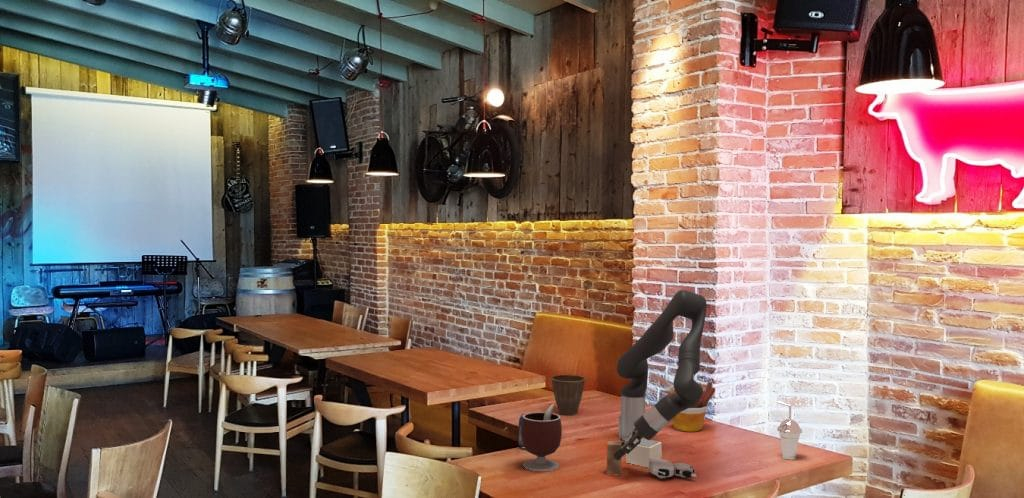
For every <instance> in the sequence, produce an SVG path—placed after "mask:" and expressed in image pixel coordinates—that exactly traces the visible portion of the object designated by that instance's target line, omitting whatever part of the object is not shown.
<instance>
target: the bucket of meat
mask: <svg viewBox="0 0 1024 498" xmlns="http://www.w3.org/2000/svg"><path fill="white" fill-rule="evenodd" d="M715 392H716V389H715V387H713V383H712V381H707V384H706V388H705V391H704V390H703V395H702V397H701V399H700V400H699V401H698V402H697V403H696V404H695V405H693V406H691V407H690V408H688V409H686V410H684V411H682V412H680V413H678V414H677V415H676V416H675V417H674V418H673V419H672V420H671V423H672V427H673V428H674V429H675V430H676V431H679V432H684V433H696V432H699V431H700V430H702V429H703V425H704V422H705V418H706V414H707V410H708V403H709V402H710V399H711V398H712V397H713V395H714V393H715ZM664 393H667V395H666V396H675V395H677V393H676V392H675V390H674V384H673V385H670V386H669V388H668V387H667V388H665V389H664Z"/></svg>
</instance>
